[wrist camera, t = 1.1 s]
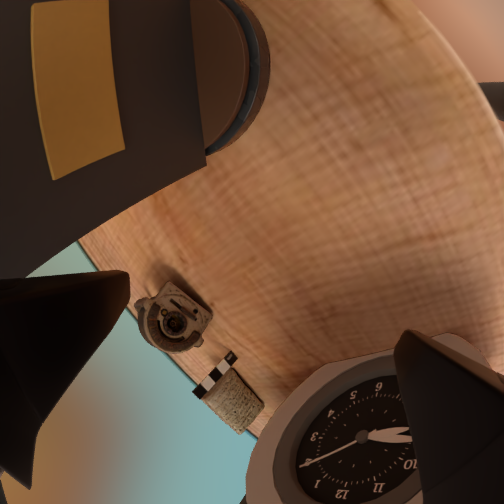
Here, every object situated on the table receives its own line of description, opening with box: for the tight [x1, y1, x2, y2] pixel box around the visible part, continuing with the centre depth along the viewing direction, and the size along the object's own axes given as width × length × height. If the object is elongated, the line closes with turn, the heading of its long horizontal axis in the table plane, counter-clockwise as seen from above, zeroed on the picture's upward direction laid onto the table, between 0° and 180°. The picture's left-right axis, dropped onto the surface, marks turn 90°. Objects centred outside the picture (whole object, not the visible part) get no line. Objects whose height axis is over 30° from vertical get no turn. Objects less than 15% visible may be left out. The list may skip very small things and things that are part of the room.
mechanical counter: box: [134, 281, 213, 354], centre depth 32 cm, size 7×13×10 cm
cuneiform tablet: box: [192, 351, 264, 435], centre depth 35 cm, size 7×4×12 cm
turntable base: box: [205, 0, 270, 156], centre depth 17 cm, size 14×14×2 cm
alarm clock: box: [246, 333, 492, 504], centre depth 16 cm, size 21×8×20 cm, turn 134°
